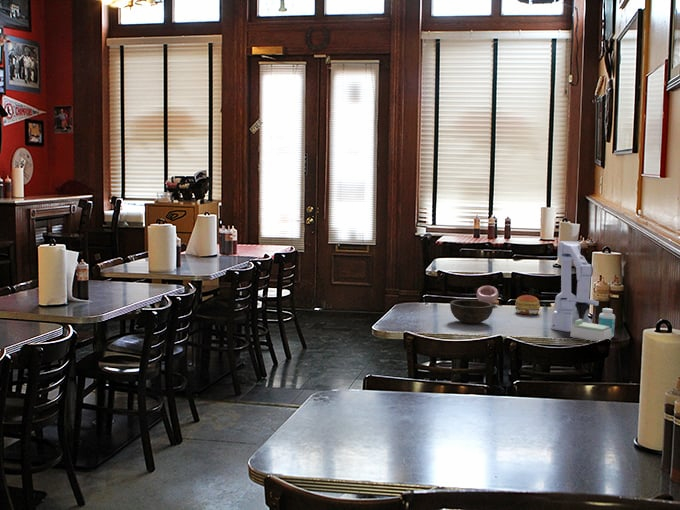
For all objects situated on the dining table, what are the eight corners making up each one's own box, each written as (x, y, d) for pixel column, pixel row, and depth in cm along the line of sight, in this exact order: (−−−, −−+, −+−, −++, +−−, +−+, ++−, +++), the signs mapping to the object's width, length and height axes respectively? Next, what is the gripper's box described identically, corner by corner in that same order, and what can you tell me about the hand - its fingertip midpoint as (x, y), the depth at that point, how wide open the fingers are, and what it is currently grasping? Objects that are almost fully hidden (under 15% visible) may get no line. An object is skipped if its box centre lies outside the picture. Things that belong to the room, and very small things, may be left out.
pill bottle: (614, 338, 402) (616, 310, 400) (598, 337, 403) (600, 309, 402) (612, 335, 409) (614, 308, 407) (596, 334, 411) (598, 307, 409)
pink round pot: (475, 305, 477) (476, 285, 475) (476, 302, 488) (477, 282, 487) (497, 307, 474) (498, 287, 473) (497, 303, 486) (498, 284, 484)
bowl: (446, 318, 439) (447, 299, 438) (488, 319, 439) (489, 300, 438) (452, 326, 417) (453, 306, 416) (496, 328, 418) (497, 308, 416)
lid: (573, 326, 399) (573, 321, 399) (580, 323, 407) (581, 318, 406) (602, 330, 391) (602, 325, 391) (609, 327, 398) (609, 322, 398)
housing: (570, 337, 400) (571, 326, 400) (578, 334, 408) (578, 323, 407) (603, 343, 391) (604, 331, 390) (610, 339, 399) (611, 328, 398)
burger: (529, 310, 468) (530, 292, 467) (545, 315, 456) (546, 296, 455) (509, 311, 462) (510, 293, 461) (525, 316, 450) (526, 298, 449)
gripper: (565, 289, 393) (563, 317, 395) (595, 293, 385) (593, 322, 387) (570, 287, 399) (568, 315, 401) (600, 291, 390) (598, 320, 392)
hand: (581, 318), depth 394 cm, fingers closed
